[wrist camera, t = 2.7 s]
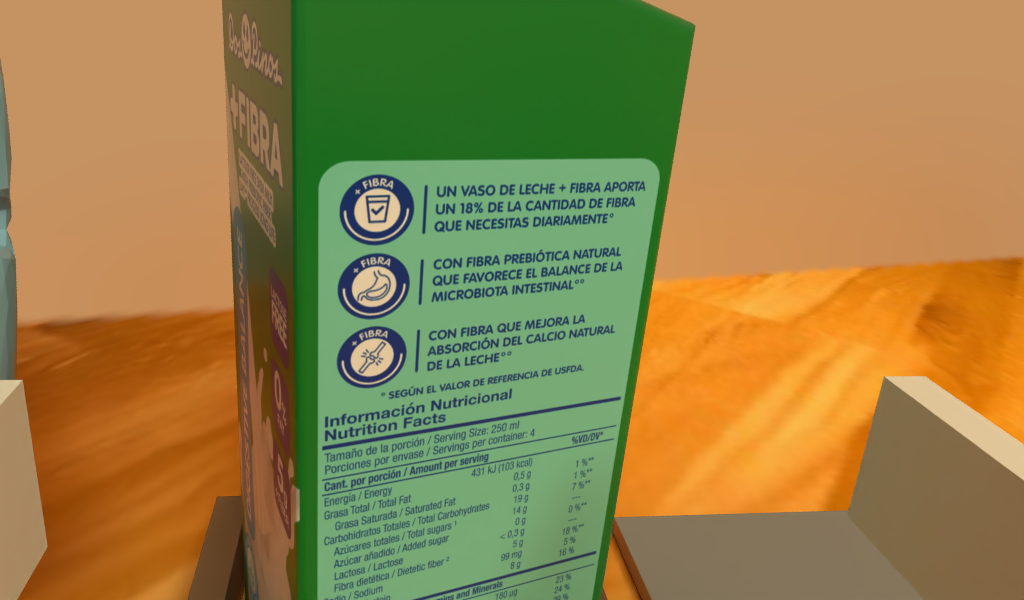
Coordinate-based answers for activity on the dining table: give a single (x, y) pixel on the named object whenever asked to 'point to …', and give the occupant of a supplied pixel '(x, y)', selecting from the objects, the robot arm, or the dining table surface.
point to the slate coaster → (757, 558)
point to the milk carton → (442, 286)
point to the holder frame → (226, 555)
